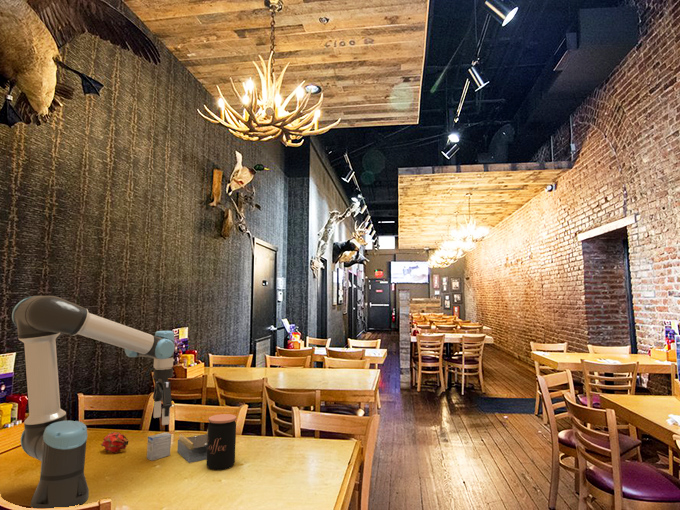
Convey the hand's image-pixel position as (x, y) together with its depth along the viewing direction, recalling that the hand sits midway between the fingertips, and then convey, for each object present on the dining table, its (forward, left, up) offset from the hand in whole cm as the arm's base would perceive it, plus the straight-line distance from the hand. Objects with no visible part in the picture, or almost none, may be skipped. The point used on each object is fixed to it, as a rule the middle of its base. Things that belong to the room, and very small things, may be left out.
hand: (161, 420), depth 174 cm
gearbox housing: (-6, -16, -14) cm, 22 cm away
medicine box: (0, 0, -14) cm, 14 cm away
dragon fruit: (+18, +13, -14) cm, 27 cm away
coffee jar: (-24, -17, -14) cm, 33 cm away
